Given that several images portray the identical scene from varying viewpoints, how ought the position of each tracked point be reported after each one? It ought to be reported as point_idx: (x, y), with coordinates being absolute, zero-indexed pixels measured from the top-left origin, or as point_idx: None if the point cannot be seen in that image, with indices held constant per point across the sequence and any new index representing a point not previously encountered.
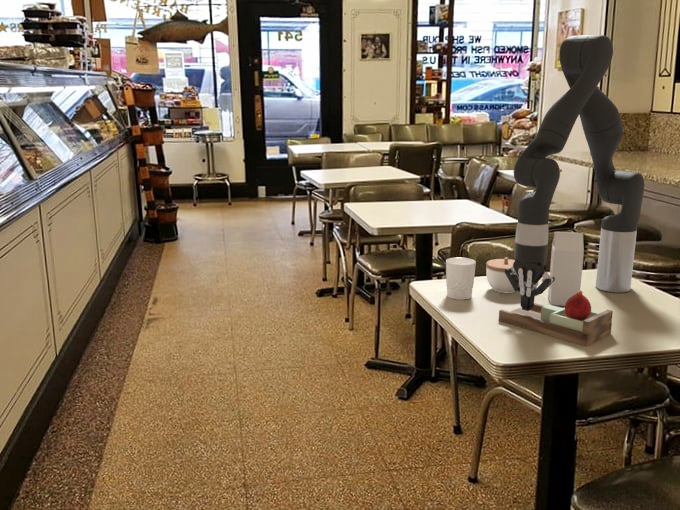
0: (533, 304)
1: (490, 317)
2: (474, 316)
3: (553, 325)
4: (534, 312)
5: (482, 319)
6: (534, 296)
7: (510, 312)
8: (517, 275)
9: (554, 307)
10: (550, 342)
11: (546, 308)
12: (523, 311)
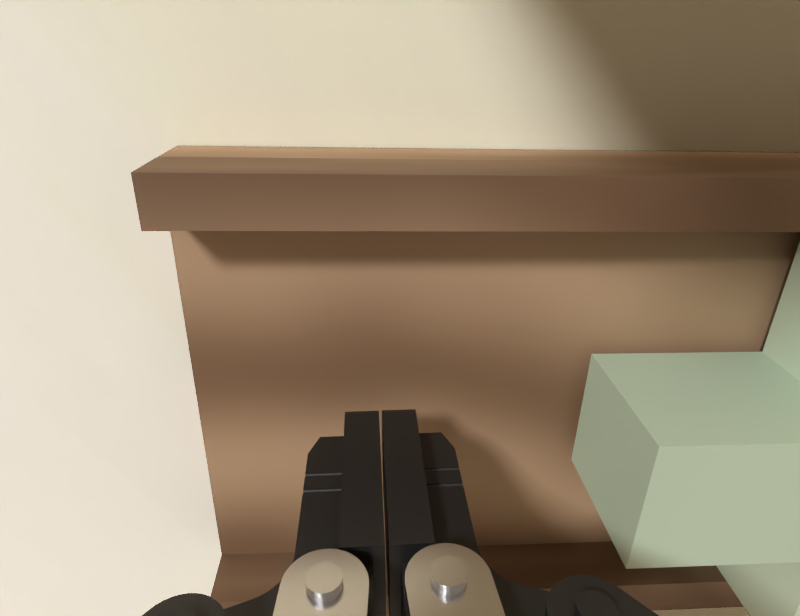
0: (457, 472)
1: (137, 535)
2: (43, 595)
3: None
4: (398, 292)
5: (137, 600)
6: (479, 555)
7: None
8: None
9: (767, 490)
10: (734, 607)
11: (690, 565)
12: (292, 346)
